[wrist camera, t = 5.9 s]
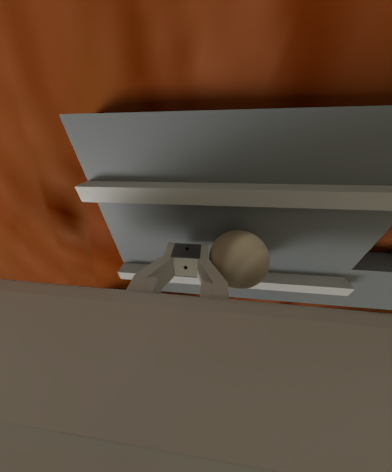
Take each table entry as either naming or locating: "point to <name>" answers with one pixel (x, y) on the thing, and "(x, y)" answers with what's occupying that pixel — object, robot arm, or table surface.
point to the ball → (240, 258)
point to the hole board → (249, 192)
